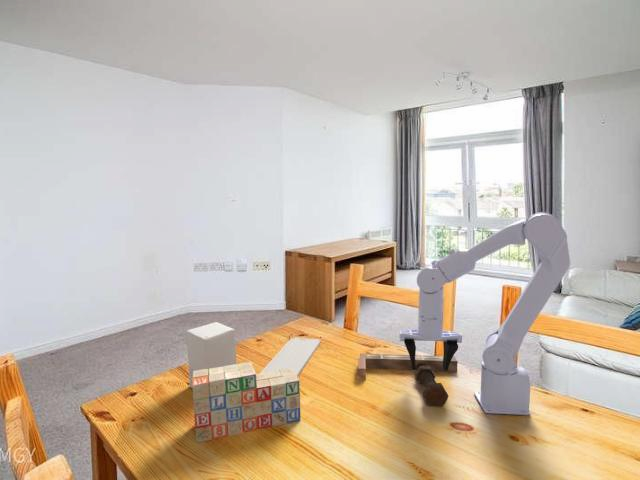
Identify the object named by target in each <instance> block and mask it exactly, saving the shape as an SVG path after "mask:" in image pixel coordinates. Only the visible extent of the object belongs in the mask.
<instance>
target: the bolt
mask: <svg viewBox="0 0 640 480" xmlns="http://www.w3.org/2000/svg"><path fill="white" fill-rule="evenodd" d="M414 371H415V373H414V376H415V378H416V379H417V381H418V384H420V385H422V386H423V389H422V392H421V395H422V397H423V399H424V401H425V402H426V404H427V406H428V407H434V408H435V407H437V408H440V407H443V406H445V404H446V403H447V401H448V398H449V395H448V393H447V391H446V389H445V388H444V386H443V383H441V382H436V374H435V373H434V371H432V370H431V368H430V366H427V365H426V364H424V363H418V364H417V365H416V367H415V370H414Z"/></svg>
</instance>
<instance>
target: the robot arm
mask: <svg viewBox="0 0 640 480" xmlns="http://www.w3.org/2000/svg"><path fill="white" fill-rule="evenodd" d="M526 240H527V241H528V242H529V244H530V245H531V246H532V247H533V248H534V249H535V250H536V253H537V256H538V258H539V260H540V262H539V264H538V266H537V268H536V269H535V271H534V272H533V274H532V276H531V278H530V279H529V281H528V282H527V284H526V285H525V287H524V288H523V291H522V292H521V294H520V296H519V297H518V298H517V300H516V301H515V303H514V306H513V307H512V309H511V310H510V311H509V313H508V315H507V316H506V318H505V319H504V321H503V323H501V324H500V325H499V327H498V329H497V330H496V331H494V332H491V333H490V334H489V335H488V336H487V338H486V341H485V348H484V350H483V353H482V357H481V358H482V361H481V372H480V375H481V376H480V391H475V392H474V396H475V398H476V400H477V401H478V403H479V405H480V407H481V408H482V411H483V412H484V413H485V414H495V415H496V414H497V415H520V416H530V415H531V413H532V412H531V411H530V401H531V380H530V376H529V373H528V371H527V370H526V368H524V367H523V366H518V365H517V364H516V358H517V357H516V356H517V354H518V352H519V350H520V348H521V346H522V344H523V340H524V339H525V337H526V335H527V334H528V332H529V331H530V329H531V328H532V326H533V324H534V323H535V321H536V320H537V318H538V317H539V315H540V313H541V312H542V310H543V309H544V308H545V305H546V304H547V302H548V301H549V299H550V298H551V297H552V295H553V293H554V292H555V290H556V288H557V287H558V285H559V284H560V282H561V280H563V278H564V277H565V275H566V273H567V271H568V270H569V268H570V266H571V259H570V252H569V245H568V235H567V233H566V230H565V229H564V227H563V226H562V224H561V222H560V221H559V220H558V219H557V218H556V217H555V216H554V215H553V214H552V213H549V212H545V211H540V212H535V213H533V214H530V216H529V217H527V219H526V218H521V219H520V220H518V221H515V222H513V223H511V224H508V225H507V226H505V227H503V228H502V229H500V230H498V231H496V232H495V233H493V234H491V235H490V236H488V237H487V238H485V239H484V240H482V241H481V242H479V243H477V244H475V245H473V246H472V247H471V248H464V247H463V248H461V247H459V248H457V249H455V248H451V249H450V250H448V254H447V255H445V256H443V257H442V258H439V259H438V260H435V259H434V260H433V261H431V265H427V266H426V267H424V268H423V269H422V270H421V271H420V272H419V273H418V274H417V277H416V284H417V287H418V288H419V290H418V291H419V294H418V312H417V313H418V314H417V315H418V321H417V323H418V324H417V328H416V329H408V330H399V331H398V332H399V333H398V335H399V336H398V338H399V341H400V342H403V343H404V346H405V348H406V350H407V353H408V355H409V356H410V360H411V367H412V370H411V371H416V370H415V367H416V366H415V355H416V350H417V346H416V341H418V342H419V341H420V342H421V341H422V342H423V341H424V342H426V341H427V342H443V343H442V344H443V345H442V346H443V355H442V356H443V369H444V371H443V372H448V368H449V364H450V362H451V359H452V357H453V356H455V354H457V352H458V350H459V344H462V342H463V334H462V333H461V332H459V331H450V330H443V329H444V306H445V305H444V298H445V297H444V286H445V285H446V284H450V283H452V282H454V281H455V280H458V279H460V278H461V277H463V276H464V275H467V274H468V273H470V272H473V271H474V270H475V267H476V263H477V262H478V261H480V260H482V259H484V258H486V257H489V255H492V254H494V253H496V252H497V251H499V250H501V249H503V248H506V247H508V246H509V245H510V246H511V245H515V246H516V245H517V246H518V245H520V246H521V245H522V246H524V245H526Z"/></svg>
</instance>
